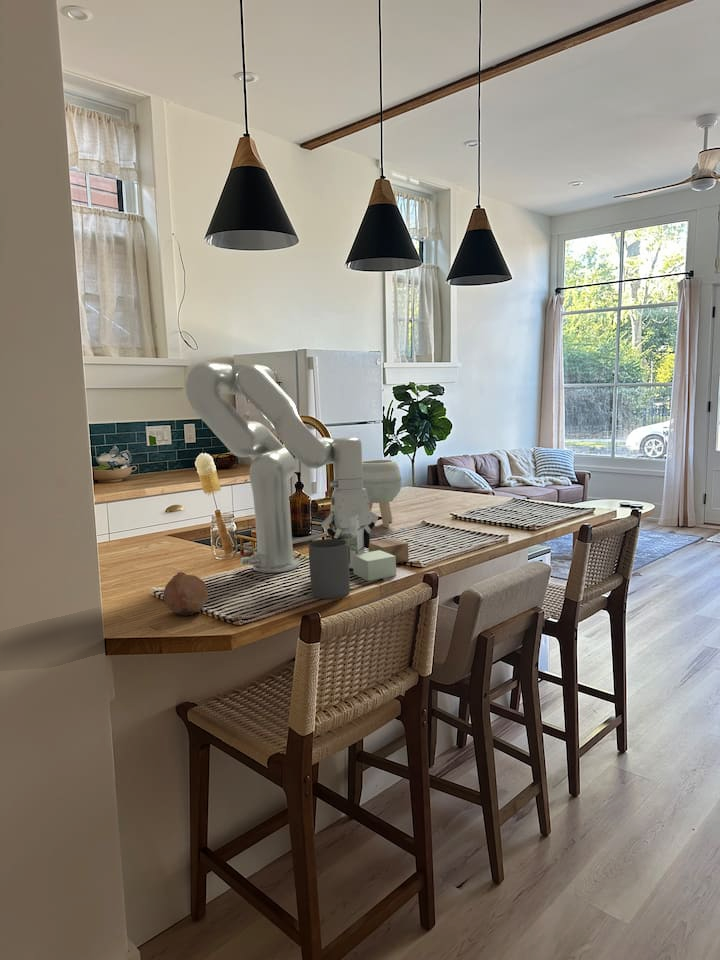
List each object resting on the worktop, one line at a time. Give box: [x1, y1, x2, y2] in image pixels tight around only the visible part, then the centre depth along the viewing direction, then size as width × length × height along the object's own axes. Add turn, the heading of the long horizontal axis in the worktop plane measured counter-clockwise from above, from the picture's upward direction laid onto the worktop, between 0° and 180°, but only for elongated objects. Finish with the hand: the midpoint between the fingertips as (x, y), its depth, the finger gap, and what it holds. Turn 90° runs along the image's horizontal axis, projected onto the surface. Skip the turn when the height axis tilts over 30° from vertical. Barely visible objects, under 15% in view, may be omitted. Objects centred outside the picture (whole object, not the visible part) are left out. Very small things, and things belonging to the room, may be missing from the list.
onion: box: [162, 571, 209, 617], centre depth 144 cm, size 10×9×10 cm
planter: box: [362, 459, 402, 529], centre depth 227 cm, size 16×16×22 cm
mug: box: [308, 538, 351, 600], centre depth 155 cm, size 14×9×12 cm
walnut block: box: [367, 537, 410, 564], centre depth 180 cm, size 8×8×5 cm
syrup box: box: [339, 515, 365, 570], centre depth 175 cm, size 6×6×14 cm
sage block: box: [352, 550, 397, 582], centre depth 167 cm, size 8×8×5 cm
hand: (351, 549), depth 175 cm, fingers closed on syrup box, 7 cm apart
